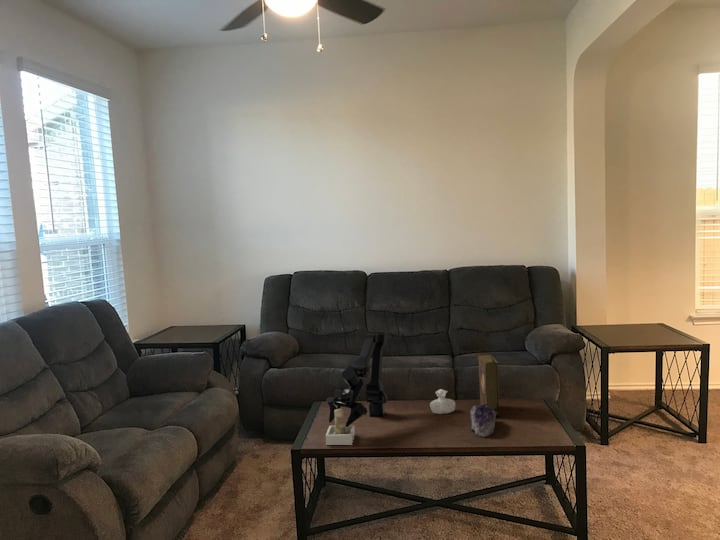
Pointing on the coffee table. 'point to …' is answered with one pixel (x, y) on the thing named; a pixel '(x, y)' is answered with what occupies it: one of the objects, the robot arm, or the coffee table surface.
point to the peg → (339, 421)
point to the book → (489, 382)
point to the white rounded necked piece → (442, 403)
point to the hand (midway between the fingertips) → (337, 424)
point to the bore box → (340, 436)
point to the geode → (483, 420)
